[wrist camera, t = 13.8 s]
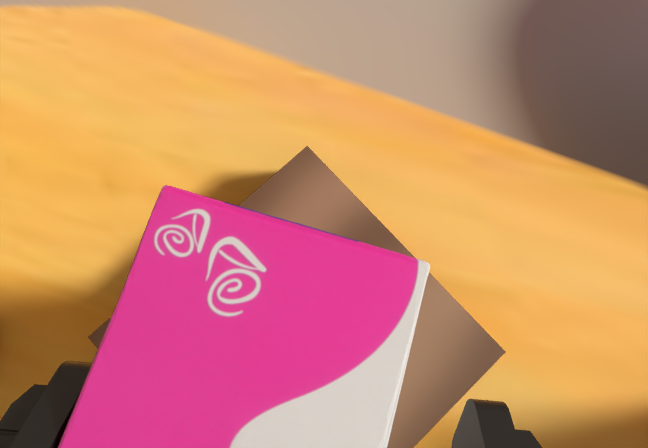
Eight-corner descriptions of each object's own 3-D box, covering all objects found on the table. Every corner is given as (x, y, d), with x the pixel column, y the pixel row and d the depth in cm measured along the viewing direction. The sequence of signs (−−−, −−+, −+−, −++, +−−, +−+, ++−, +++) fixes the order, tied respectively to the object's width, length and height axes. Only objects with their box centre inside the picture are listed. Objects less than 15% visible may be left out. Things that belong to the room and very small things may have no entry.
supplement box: (381, 299, 21) (446, 263, 9) (340, 446, 19) (356, 608, 8) (248, 257, 21) (155, 175, 10) (199, 400, 20) (31, 493, 9)
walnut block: (474, 346, 24) (505, 351, 20) (292, 532, 23) (288, 577, 19) (307, 172, 26) (307, 146, 22) (124, 334, 24) (88, 337, 20)
